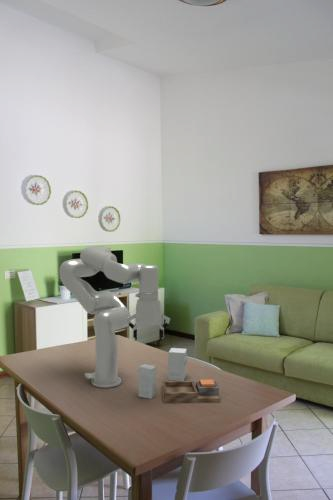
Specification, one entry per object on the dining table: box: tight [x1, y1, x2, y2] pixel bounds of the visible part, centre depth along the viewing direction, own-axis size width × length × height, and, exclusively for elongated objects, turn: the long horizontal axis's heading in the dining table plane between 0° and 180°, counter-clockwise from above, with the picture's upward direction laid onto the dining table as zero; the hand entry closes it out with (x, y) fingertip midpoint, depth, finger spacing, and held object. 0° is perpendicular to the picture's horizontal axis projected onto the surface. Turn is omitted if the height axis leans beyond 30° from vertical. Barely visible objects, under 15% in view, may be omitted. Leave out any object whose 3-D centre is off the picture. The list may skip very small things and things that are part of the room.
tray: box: [160, 380, 221, 404], centre depth 173 cm, size 22×14×4 cm, turn 94°
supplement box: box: [167, 347, 188, 381], centre depth 193 cm, size 7×7×13 cm
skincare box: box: [137, 363, 157, 400], centre depth 172 cm, size 6×4×12 cm
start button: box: [199, 379, 215, 387], centre depth 174 cm, size 5×5×2 cm
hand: (148, 339), depth 171 cm, fingers open, 9 cm apart
